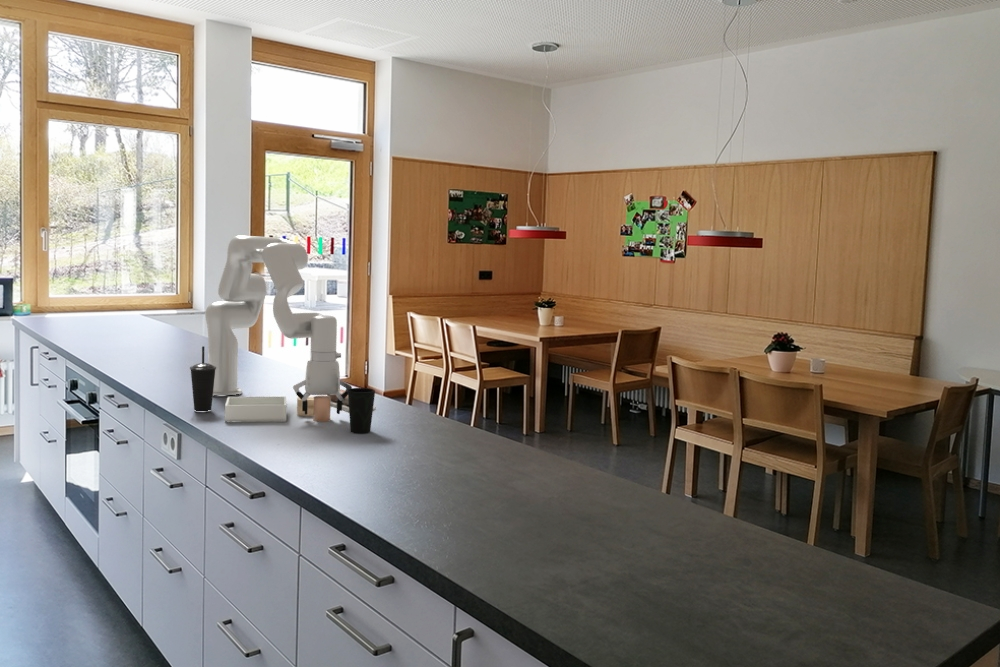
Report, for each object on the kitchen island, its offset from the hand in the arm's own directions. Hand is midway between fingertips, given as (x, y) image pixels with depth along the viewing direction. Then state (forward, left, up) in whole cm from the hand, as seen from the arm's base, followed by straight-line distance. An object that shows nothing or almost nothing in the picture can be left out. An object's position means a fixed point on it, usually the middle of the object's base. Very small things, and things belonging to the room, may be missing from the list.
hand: (322, 413), depth 246 cm
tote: (-5, -19, -2) cm, 20 cm away
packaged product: (-20, +9, -3) cm, 22 cm away
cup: (+16, +10, -2) cm, 19 cm away
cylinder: (0, 0, -2) cm, 2 cm away
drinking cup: (-14, -35, -2) cm, 38 cm away
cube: (-9, -5, -2) cm, 10 cm away
